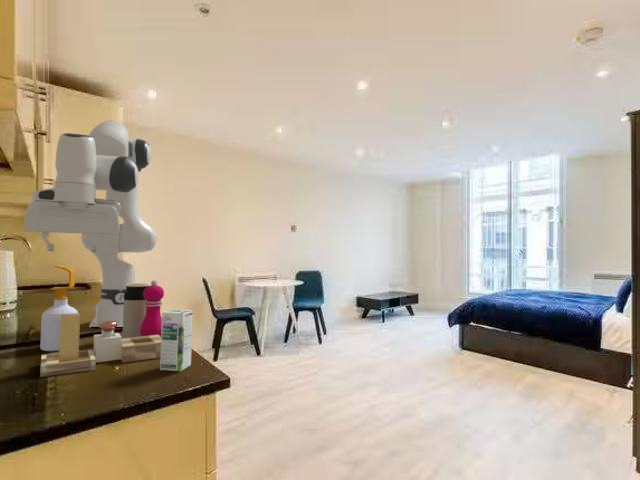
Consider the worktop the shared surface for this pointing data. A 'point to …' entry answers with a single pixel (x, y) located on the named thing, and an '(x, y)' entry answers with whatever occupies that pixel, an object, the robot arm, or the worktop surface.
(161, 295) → the pepper mill
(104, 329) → the pin
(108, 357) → the pin guide
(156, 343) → the socket
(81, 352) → the shallow wooden tray
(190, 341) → the syrup box
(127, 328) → the travel mug
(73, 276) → the soap bottle
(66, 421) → the worktop surface
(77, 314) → the block
